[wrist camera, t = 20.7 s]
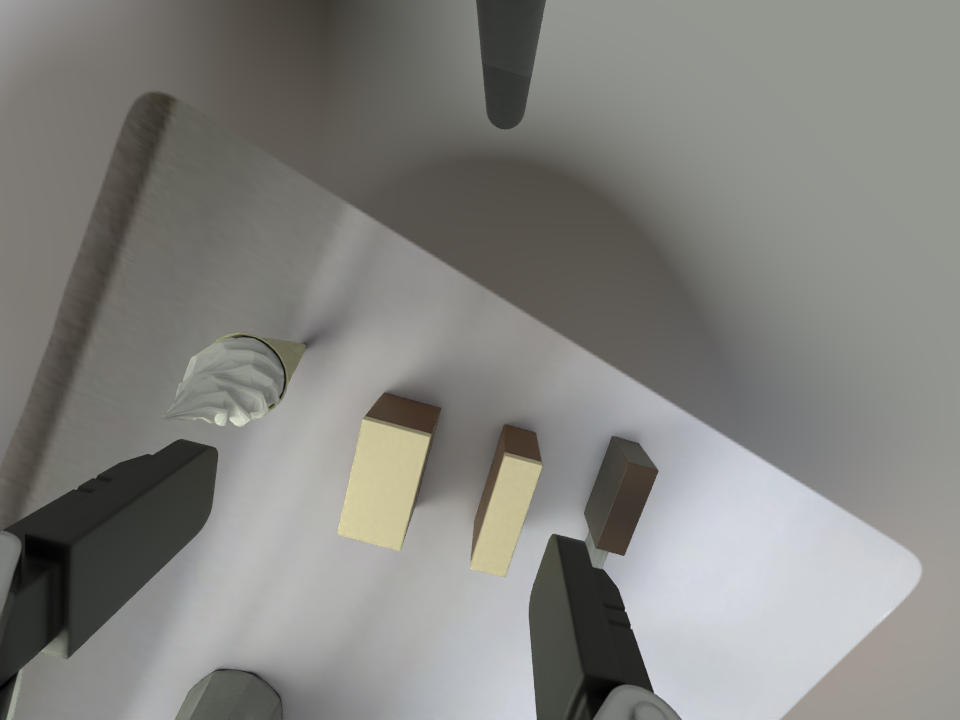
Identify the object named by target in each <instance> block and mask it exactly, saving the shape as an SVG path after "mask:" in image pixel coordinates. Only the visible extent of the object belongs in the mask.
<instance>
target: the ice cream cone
mask: <svg viewBox="0 0 960 720" xmlns="http://www.w3.org/2000/svg"><path fill="white" fill-rule="evenodd" d="M305 349H306V345H305V344H303V343H296V342H289V341H283V340H276V339H269V338H261V337H258V336H255V335H251V334H247V333H233V334H229V335H226V336H223V337H221V338H220V339H218V340H217V341H215V342H214V343H213V344H212V345H210V346H208V347H206V348H205V349H203V350H202V351H201V352H199V353H198V354H196V355H195V356H193V357H192V358H191V360H190V362H189V365H188V368H187V370H186V373H185V376H184V378H183V382H181V383H180V384H178V389H177V395H176V398H175V400H174V401H173V403H172V404H171V406H170V408H169V409H168V411H167V412H166V414H165V415H164V417H162V419H164V420H169V419H179V420H193V421H195V420H196V419H197V418H202V419H204V420H206V421H207V422H209V423H212V424H213V423H216V424H218V425H220V426H225V424H226V420H227V419H229V420H230V421H231V422H233V423H234V424H235V425H236V426H240V427H242V426H244V425H245V424H246V423H248V422H249V421H250V420H251V419H257V418H261V417H264V416H266V414H267V412H269V411H271V410H272V409H274V408H275V407H276V406H277V405H278V404H279V403H280V402H281V400H282V399H283V397H284V395H285V393H286V390H287V385H288V383H289V381H290V379H291V377H292V375H293V373H294V371H295V369H296V367H297V365H298V363H299V361H300V359H301V357H302V355H303V353H304V351H305Z"/></svg>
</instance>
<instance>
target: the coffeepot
mask: <svg viewBox="0 0 960 720" xmlns="http://www.w3.org/2000/svg"><path fill="white" fill-rule="evenodd" d="M175 720H282V706H281V702H280V698H279V697H278V696H277V694H276V693H275V691H274V690H273V689H272V688H271V687H270V686H269V685H268V684H267V683H266V682H264V681H263V680H262V679H260V678H258V677H256V676H254V675H252V674H249V673H246V672H243V671H237V670H223V671H214V672H213V673H211V674H210V675H208V676H206V677H205V678H203V679H202V680H201V681H200V682H199V683H198V684H197V685H196V686H195V687H193V688H192V689H191V690H190V691H189V693H188V695H187V697H186V699H185V701H184V703H183V705H182V707H181V709H180V710H179V712H178V714H177V716H176V718H175Z"/></svg>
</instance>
